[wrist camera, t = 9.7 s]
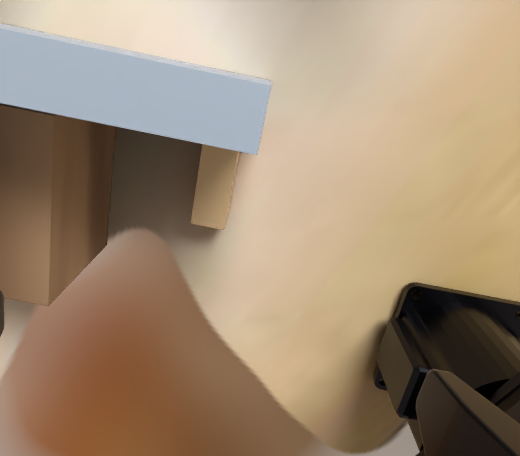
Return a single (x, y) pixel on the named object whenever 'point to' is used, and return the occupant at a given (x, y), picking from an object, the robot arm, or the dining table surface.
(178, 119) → the grey toy bench
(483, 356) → the robot arm
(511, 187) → the dining table surface
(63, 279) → the cabinet block
